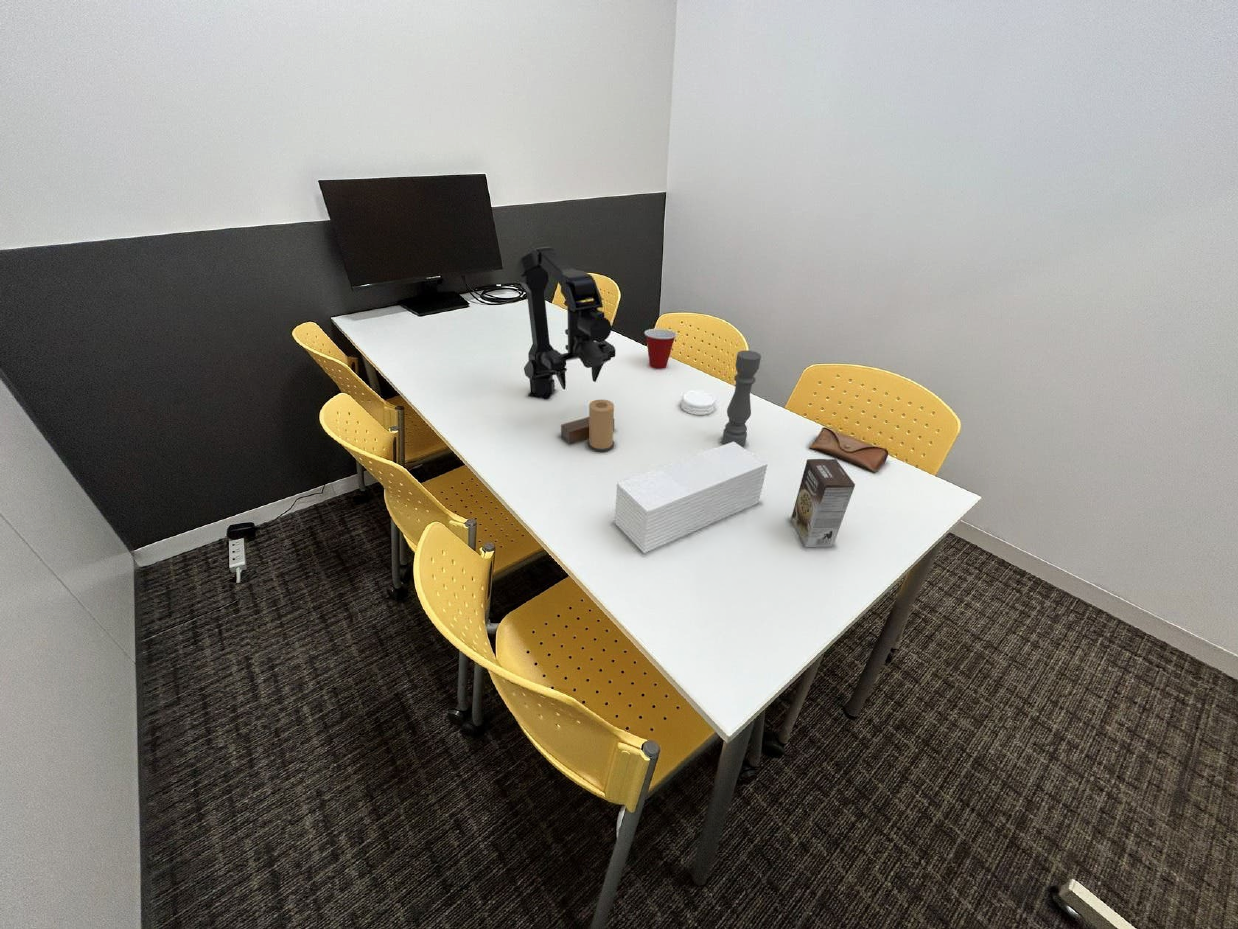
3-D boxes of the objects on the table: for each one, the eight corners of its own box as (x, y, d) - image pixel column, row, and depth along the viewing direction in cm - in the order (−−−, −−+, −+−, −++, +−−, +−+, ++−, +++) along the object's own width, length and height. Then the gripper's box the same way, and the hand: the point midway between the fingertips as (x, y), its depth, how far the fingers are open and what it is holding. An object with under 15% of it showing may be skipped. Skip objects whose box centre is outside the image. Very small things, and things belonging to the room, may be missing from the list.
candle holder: (746, 439, 144) (763, 352, 130) (743, 450, 139) (760, 361, 125) (723, 435, 146) (738, 348, 132) (719, 446, 141) (734, 357, 127)
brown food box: (789, 519, 117) (805, 458, 108) (817, 518, 117) (836, 457, 108) (804, 548, 109) (824, 484, 100) (834, 547, 110) (856, 484, 101)
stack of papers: (643, 553, 106) (647, 511, 100) (615, 523, 114) (616, 482, 108) (758, 503, 121) (767, 463, 115) (726, 479, 129) (733, 441, 122)
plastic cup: (674, 360, 187) (677, 327, 181) (673, 373, 178) (677, 338, 172) (643, 358, 188) (645, 325, 181) (641, 370, 179) (643, 336, 172)
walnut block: (560, 436, 142) (560, 424, 140) (605, 423, 149) (605, 411, 147) (569, 444, 139) (568, 432, 137) (614, 430, 146) (614, 418, 144)
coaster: (673, 407, 158) (675, 396, 156) (693, 396, 164) (695, 386, 163) (701, 419, 153) (702, 408, 151) (720, 407, 159) (722, 397, 157)
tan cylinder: (572, 414, 141) (589, 397, 130) (594, 408, 144) (613, 391, 133) (589, 459, 140) (609, 446, 128) (611, 452, 143) (632, 438, 132)
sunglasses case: (807, 447, 141) (817, 423, 140) (813, 449, 147) (823, 426, 146) (877, 473, 132) (888, 448, 131) (880, 474, 138) (890, 450, 137)
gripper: (561, 346, 121) (562, 406, 130) (628, 332, 130) (625, 389, 139) (539, 330, 129) (541, 388, 138) (604, 317, 138) (603, 373, 147)
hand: (579, 385), depth 140 cm, fingers open, 9 cm apart
